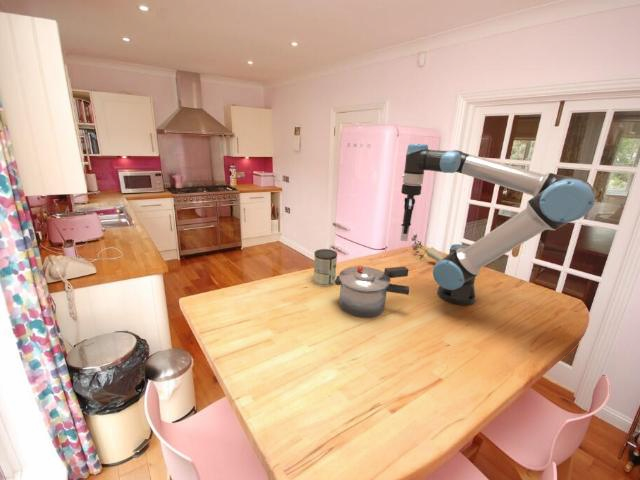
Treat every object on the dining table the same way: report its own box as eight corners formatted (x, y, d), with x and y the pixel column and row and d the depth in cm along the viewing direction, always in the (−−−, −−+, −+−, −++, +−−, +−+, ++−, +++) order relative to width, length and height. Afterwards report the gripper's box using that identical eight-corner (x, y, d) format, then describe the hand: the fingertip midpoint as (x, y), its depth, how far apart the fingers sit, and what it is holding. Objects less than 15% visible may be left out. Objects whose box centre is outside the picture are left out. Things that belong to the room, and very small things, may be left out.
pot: (330, 312, 114) (332, 286, 110) (338, 290, 131) (340, 267, 127) (405, 325, 108) (410, 298, 105) (404, 300, 125) (408, 277, 121)
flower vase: (446, 288, 154) (400, 252, 179) (463, 278, 158) (416, 244, 183) (450, 272, 147) (401, 236, 172) (467, 261, 150) (418, 228, 176)
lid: (350, 295, 105) (351, 282, 103) (332, 271, 122) (333, 260, 121) (419, 287, 113) (421, 275, 111) (393, 266, 130) (394, 255, 129)
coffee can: (314, 275, 144) (315, 248, 139) (335, 277, 143) (337, 249, 139) (311, 285, 134) (313, 256, 130) (334, 287, 133) (336, 258, 129)
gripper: (402, 181, 125) (394, 234, 133) (402, 185, 113) (394, 244, 121) (420, 182, 124) (412, 236, 131) (423, 187, 112) (413, 246, 119)
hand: (403, 240), depth 126 cm, fingers closed
